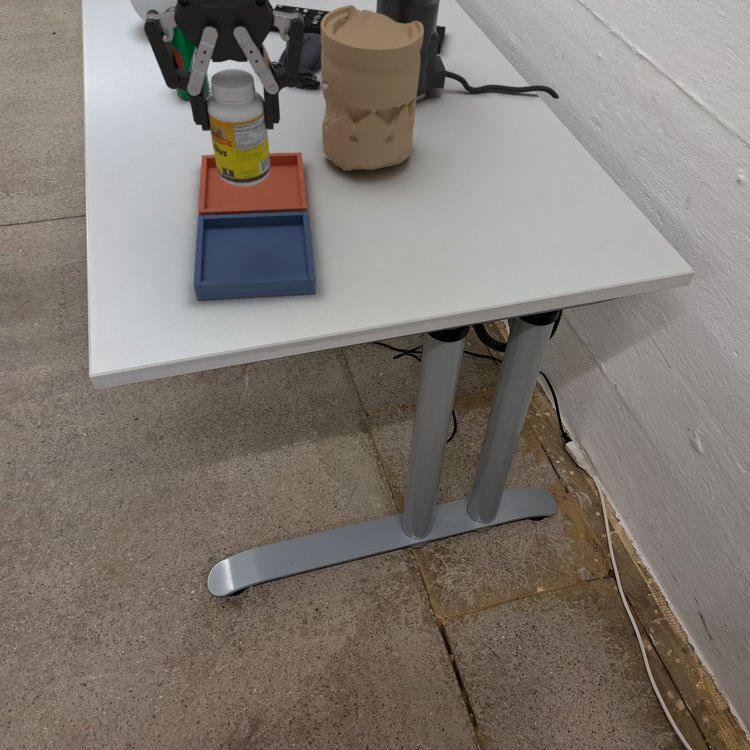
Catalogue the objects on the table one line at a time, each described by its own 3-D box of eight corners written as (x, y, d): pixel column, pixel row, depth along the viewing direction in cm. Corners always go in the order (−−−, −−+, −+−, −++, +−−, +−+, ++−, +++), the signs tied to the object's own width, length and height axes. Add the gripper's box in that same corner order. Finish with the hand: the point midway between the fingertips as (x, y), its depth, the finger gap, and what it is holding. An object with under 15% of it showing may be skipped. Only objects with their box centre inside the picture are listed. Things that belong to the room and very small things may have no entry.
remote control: (276, 12, 120) (275, 1, 118) (444, 35, 117) (446, 23, 116) (264, 30, 115) (263, 18, 113) (439, 54, 113) (441, 42, 111)
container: (340, 126, 96) (341, -4, 82) (420, 144, 94) (435, 15, 80) (309, 171, 89) (304, 37, 75) (395, 191, 87) (407, 58, 73)
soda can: (203, 103, 98) (189, 21, 89) (172, 99, 99) (155, 16, 89) (214, 88, 101) (202, 7, 92) (184, 83, 102) (169, 2, 92)
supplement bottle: (212, 164, 68) (195, 68, 60) (262, 154, 70) (252, 60, 62) (225, 193, 65) (209, 97, 57) (277, 183, 67) (270, 88, 59)
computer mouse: (350, 54, 111) (350, 31, 108) (316, 92, 102) (316, 68, 99) (297, 42, 113) (296, 19, 110) (259, 79, 104) (257, 55, 101)
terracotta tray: (302, 166, 89) (301, 152, 87) (308, 222, 82) (307, 207, 80) (204, 170, 88) (201, 155, 86) (201, 227, 80) (198, 212, 78)
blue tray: (308, 225, 81) (307, 210, 79) (315, 293, 74) (315, 279, 72) (201, 230, 80) (197, 215, 78) (197, 300, 72) (193, 285, 70)
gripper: (112, -57, 47) (161, 149, 60) (308, -55, 49) (314, 145, 62) (124, -91, 51) (167, 107, 65) (302, -88, 53) (308, 105, 66)
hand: (238, 125), depth 63 cm, fingers closed on supplement bottle, 5 cm apart
